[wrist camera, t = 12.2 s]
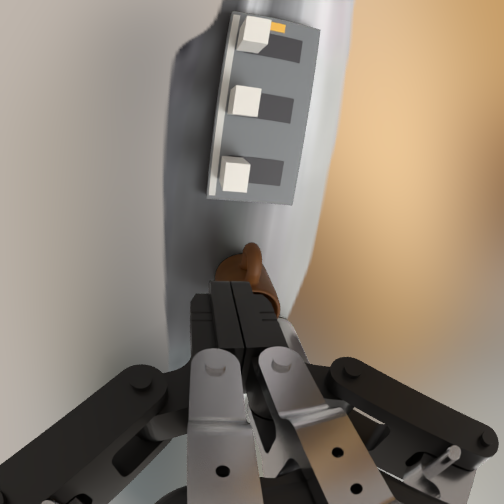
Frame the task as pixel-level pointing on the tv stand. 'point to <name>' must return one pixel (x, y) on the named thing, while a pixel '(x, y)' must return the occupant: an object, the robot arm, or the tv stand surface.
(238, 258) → the mug
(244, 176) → the breaker
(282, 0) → the tv stand surface
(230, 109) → the block
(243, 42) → the block
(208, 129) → the tv stand surface
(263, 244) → the tv stand surface
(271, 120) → the breaker panel
